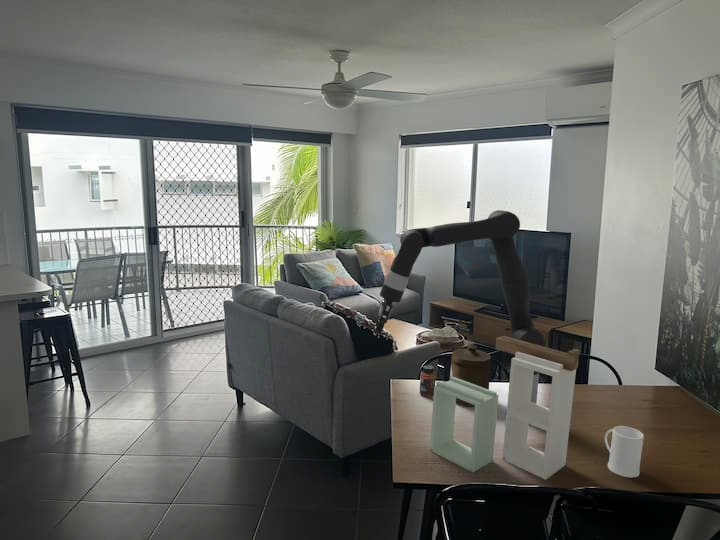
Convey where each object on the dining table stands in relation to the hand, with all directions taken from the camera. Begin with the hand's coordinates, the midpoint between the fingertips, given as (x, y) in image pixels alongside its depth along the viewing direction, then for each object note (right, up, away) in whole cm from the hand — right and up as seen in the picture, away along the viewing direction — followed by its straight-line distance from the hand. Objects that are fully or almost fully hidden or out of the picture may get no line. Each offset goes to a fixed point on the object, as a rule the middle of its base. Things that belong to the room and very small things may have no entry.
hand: (377, 329), depth 179 cm
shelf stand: (+46, -37, -22) cm, 63 cm away
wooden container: (+36, -30, +22) cm, 51 cm away
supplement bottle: (+20, -28, +25) cm, 43 cm away
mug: (+72, -39, -23) cm, 84 cm away
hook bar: (+45, -5, -25) cm, 52 cm away
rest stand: (+25, -36, -20) cm, 48 cm away
